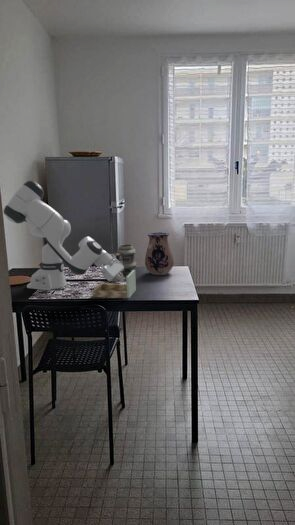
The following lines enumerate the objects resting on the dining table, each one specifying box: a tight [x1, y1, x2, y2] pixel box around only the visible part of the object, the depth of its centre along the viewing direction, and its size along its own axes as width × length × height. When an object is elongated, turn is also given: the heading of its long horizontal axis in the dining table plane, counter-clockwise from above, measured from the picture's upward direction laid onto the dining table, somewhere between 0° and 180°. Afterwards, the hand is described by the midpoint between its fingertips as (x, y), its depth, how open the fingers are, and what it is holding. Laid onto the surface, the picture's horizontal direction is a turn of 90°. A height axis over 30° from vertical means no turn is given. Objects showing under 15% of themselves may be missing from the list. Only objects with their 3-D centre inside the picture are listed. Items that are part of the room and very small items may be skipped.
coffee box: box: [110, 252, 124, 282], centre depth 237 cm, size 9×6×16 cm
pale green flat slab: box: [125, 269, 137, 299], centre depth 209 cm, size 1×14×12 cm, turn 167°
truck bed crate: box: [91, 282, 128, 299], centre depth 212 cm, size 18×14×4 cm
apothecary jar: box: [116, 243, 137, 276], centre depth 252 cm, size 12×12×18 cm
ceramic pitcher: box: [144, 231, 174, 276], centre depth 250 cm, size 18×21×25 cm
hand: (123, 280), depth 209 cm, fingers closed
